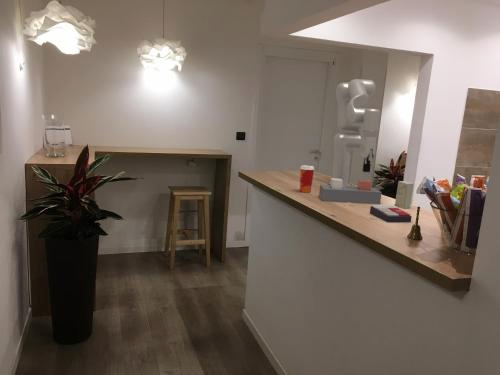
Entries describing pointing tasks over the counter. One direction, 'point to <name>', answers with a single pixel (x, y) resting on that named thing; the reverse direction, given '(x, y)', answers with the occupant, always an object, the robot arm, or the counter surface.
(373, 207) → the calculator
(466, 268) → the counter surface
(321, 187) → the plug block
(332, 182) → the grey plug
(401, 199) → the skincare box
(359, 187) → the red plug
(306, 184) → the paper cup
